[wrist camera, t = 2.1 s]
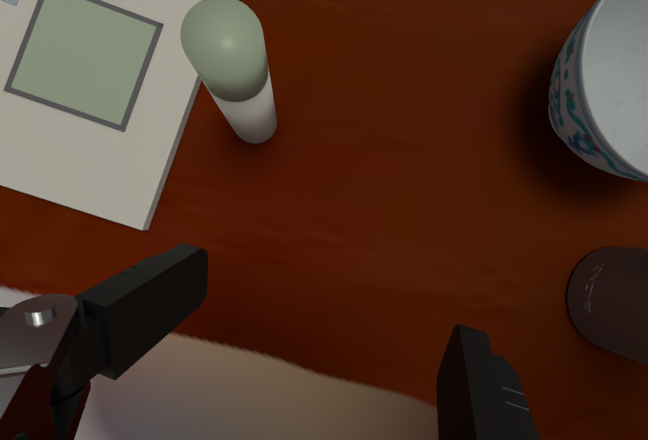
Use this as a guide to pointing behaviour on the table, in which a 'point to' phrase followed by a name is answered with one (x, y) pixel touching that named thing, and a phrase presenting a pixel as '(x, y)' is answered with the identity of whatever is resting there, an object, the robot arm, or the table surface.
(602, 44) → the chinaware
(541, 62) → the table surface
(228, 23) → the marker
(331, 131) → the table surface
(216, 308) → the table surface
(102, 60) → the picture board
